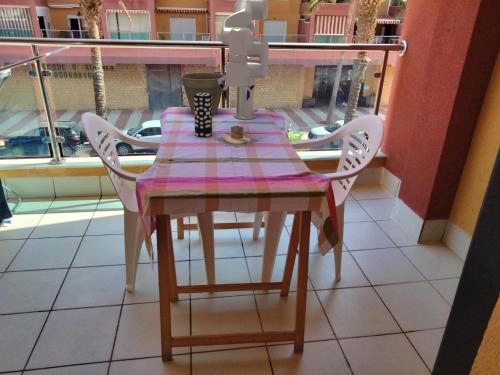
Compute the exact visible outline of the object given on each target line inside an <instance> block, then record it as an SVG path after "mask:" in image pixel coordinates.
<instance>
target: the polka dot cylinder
mask: <svg viewBox="0 0 500 375" xmlns="http://www.w3.org/2000/svg"><path fill="white" fill-rule="evenodd" d="M193 115H194V136H195V137H196V138H201V139H202V138H210V137H212V136H213V115H212V94H210V93H195V94H194V114H193Z"/></svg>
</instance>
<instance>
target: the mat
mask: <svg viewBox="0 0 500 375" xmlns="http://www.w3.org/2000/svg"><path fill="white" fill-rule="evenodd" d="M214 140H215V141H218V142H220V143H223V144H226V145H227V146H228V145H229V146H231V147H233V148H239V147H244V146H247V145H250V144H253V143H256V142H260V140H258V139H256V138H253V137H251V141H250V142H249V143H246V144H229V143H226V142H224V141H223V136H222V137H217V138H214Z"/></svg>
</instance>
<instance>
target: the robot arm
mask: <svg viewBox="0 0 500 375" xmlns="http://www.w3.org/2000/svg"><path fill="white" fill-rule="evenodd" d="M233 11H234V12H233V13H232V14H230V15H229V16H227V17H226V18H225V19H223V22H222V25H221V30H220V38H219V39H220V41H221V43H222V44H223V45H225V46H228V62H227V63H226V68H225V76H224V77H222V78H220V79H218V80H217V81H218V83H219V85H220V87H221V88H222V89H223V90H222V91H223V98H224V101H225V100H227V99H228V90H227V89H228V88H229V87H232V88H233V87H235V88H236V108H235V109H236V111H235V113H234V114H233V118H235V119H238V120H253V119H255V118H256V114H255V113H257V112H259V108H254V96H255V95H254V94H255V87H256V84H257V80H256V79H265V78H267V76H268V70H269V47H270V46H269V42H268V41H267V39H264V38H256V26H255V24H254V23H253V21H265V20H266V19H268V15H269V4H268V0H237V1H236V2H235V3H234V5H233ZM251 58H258V59H251ZM223 80H225V85H223V84H222V82H221V81H223Z"/></svg>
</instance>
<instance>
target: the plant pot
mask: <svg viewBox="0 0 500 375" xmlns="http://www.w3.org/2000/svg"><path fill="white" fill-rule="evenodd" d="M224 76H226V74H222V73H217V72H216V73H215V72H189V73H184V74H181V75H180V77H181V78H180V79H181V85H182V86H183V89H184V92H185V95H186V99H187V101H188V104H189V108H190V112H191V113H192V115H194V94H195V93H210V94H212V116H214V115H216V114H217V113H218V109H219V107H220V106H219V105H220V102H221V98H222V95H223V91H224V90H223V89H222V88H221V87H220V85H219V83H218V81H217V80H218V79H220V78H222V77H224ZM221 82H222V84H223V85H224V86H225V85H226V79H225V80H223V81H221Z"/></svg>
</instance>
